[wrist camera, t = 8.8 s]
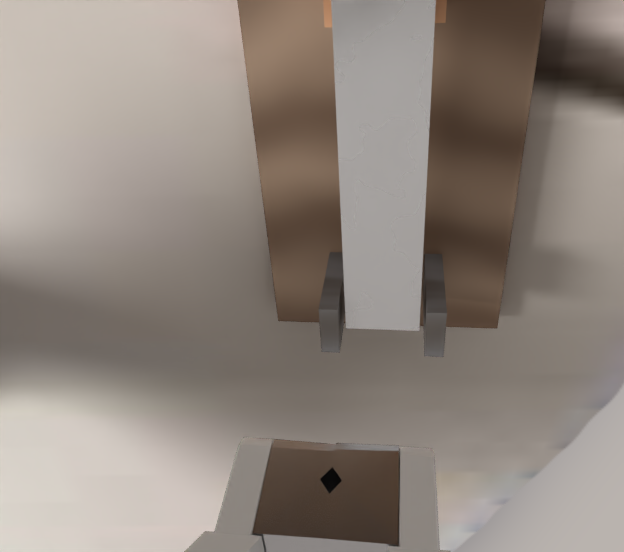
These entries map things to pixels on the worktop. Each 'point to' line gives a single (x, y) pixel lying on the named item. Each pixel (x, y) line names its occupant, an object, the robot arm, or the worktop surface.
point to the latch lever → (383, 155)
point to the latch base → (441, 157)
